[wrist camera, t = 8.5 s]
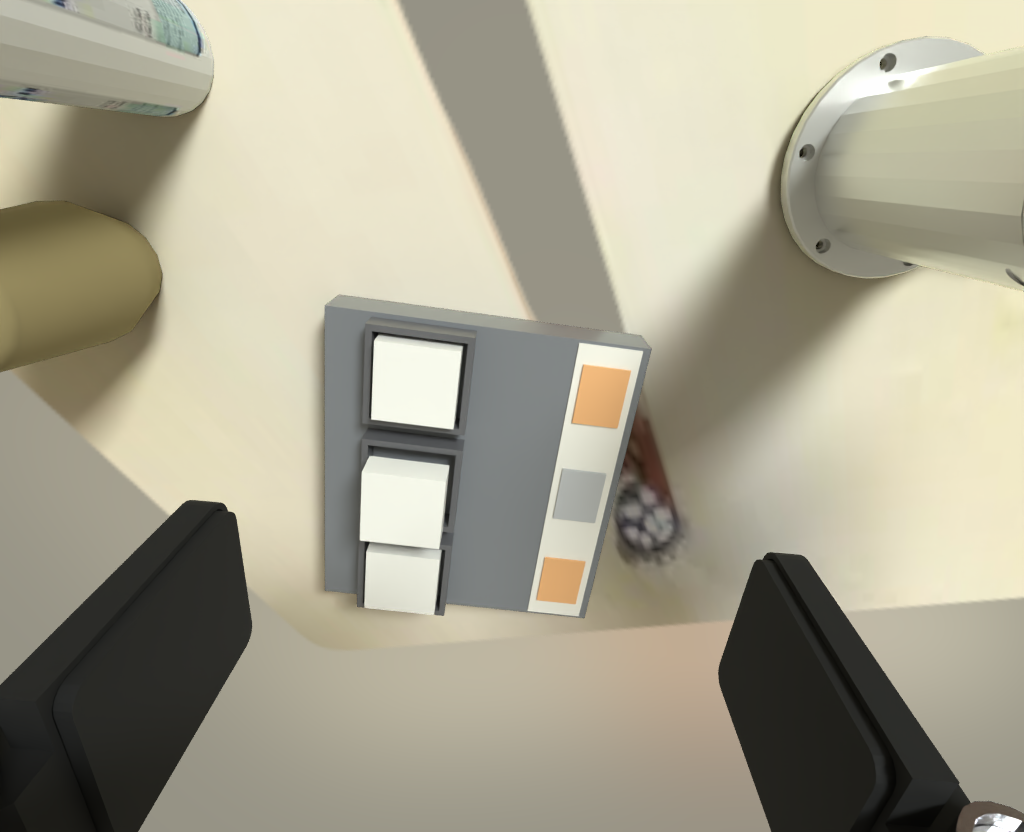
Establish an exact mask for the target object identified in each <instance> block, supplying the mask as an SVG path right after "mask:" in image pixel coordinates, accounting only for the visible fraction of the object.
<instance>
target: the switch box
mask: <svg viewBox="0 0 1024 832" xmlns="http://www.w3.org/2000/svg"><path fill="white" fill-rule="evenodd" d="M380 332H383V333H390V334H398V335H405V336H413V337H420V338H428V339H436V340H443V341H451V342H458V343H464V348H463V357H462V367H461V376H460V386H459V395H458V405H457V414H456V420H455V424H454V429H445V428H437V427H429V426H421V425H413V424H405V423H397V422H388V421H380V420H372V419H371V411H372V384H373V357H374V340H375V339H376V337H377V336H378V335H379V334H380ZM650 353H651V348H650V346H649V345H648V344H647V342H646V341H645V340H644V338H643V337H642V336H641V335H634V334H626V333H619V332H611V331H604V330H597V329H589V328H581V327H575V326H567V325H560V324H552V323H545V322H538V321H530V320H523V319H515V318H508V317H501V316H493V315H486V314H478V313H471V312H464V311H456V310H449V309H441V308H434V307H427V306H419V305H412V304H404V303H397V302H390V301H382V300H375V299H368V298H360V297H353V296H345V295H338V296H337V297H335V298H334V299H333V300H331V301H330V302H329V303H327V304H326V305H325V591H334V592H343V593H353V594H357V607H364V602H365V575H366V551H367V549H368V546H369V543H370V542H369V541H360V515H361V482H362V470H363V468H364V466H365V464H366V462H367V460H368V458H369V456H376V457H384V458H392V459H401V460H409V461H417V462H426V463H434V464H443V465H450V466H449V475H448V485H447V494H446V504H445V514H444V523H443V532H442V537H441V542H440V547H439V549H442V556H441V566H440V575H439V585H438V594H437V601H436V606H435V612H434V615H441V616H444V612H445V606H446V603H447V604H456V605H466V606H475V607H484V608H494V609H503V610H513V611H522V612H531V613H541V614H550V615H560V616H569V617H578V618H585V614H586V610H587V606H588V602H589V598H590V594H591V590H592V586H593V582H594V578H595V574H596V569H597V566H598V561H599V557H600V553H601V549H602V545H603V541H604V537H605V533H606V529H607V525H608V521H609V517H610V513H611V509H612V505H613V501H614V497H615V493H616V489H617V485H618V481H619V477H620V473H621V469H622V465H623V461H624V457H625V453H626V449H627V445H628V441H629V437H630V433H631V429H632V425H633V421H634V417H635V413H636V409H637V405H638V401H639V397H640V393H641V389H642V385H643V381H644V377H645V373H646V369H647V365H648V361H649V357H650Z"/></svg>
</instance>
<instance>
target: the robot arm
mask: <svg viewBox="0 0 1024 832" xmlns="http://www.w3.org/2000/svg"><path fill="white" fill-rule="evenodd" d="M880 61H881V62H882V67H881V69H880V67H879V66H880ZM801 148H802V149H803V151H804V153H803V155H802V157H799V151H800V150H801ZM781 203H782V209H783V214H784V219H785V222H786V224H787V226H788V229H789V231H790V233H791V236H792V238H793V239H794V240H795V242H796V243H797V244H798V246H799V247H800V249H801V250H802V251H803V252H804V253H805V254H806V255H807V256H809V257H810V258H811V259H812V260H813V261H814V262H816V263H817V264H819V265H821V266H823V267H825V268H827V269H829V270H831V271H834V272H837V273H840V274H843V275H846V276H852V277H859V278H883V277H889V276H893V275H897V274H902V273H906V272H908V271H910V270H913V269H915V268H918V267H920V266H924V267H928V268H932V269H936V270H940V271H944V272H948V273H952V274H956V275H960V276H964V277H968V278H972V279H976V280H980V281H984V282H988V283H992V284H996V285H999V286H1003V287H1007V288H1011V289H1015V290H1019V291H1023V292H1024V46H1020V47H1016V48H1012V49H1007V50H1003V51H999V52H995V53H990V54H985V53H983V52H982V51H980V50H979V49H977V48H975V47H974V46H972V45H971V44H969V43H966V42H962V41H959V40H956V39H952V38H949V37H930V36H925V37H919V38H913V39H908V40H902V41H899V42H896V43H893V44H890V45H887V46H884V47H881V48H879V49H877V50H875V51H873V52H871V53H869V54H867V55H865V56H863V57H860V58H859V59H857V60H856V61H855V62H853V63H852V64H850V65H849V66H848V67H846V68H845V69H843V70H842V71H841V72H839V73H838V74H837V75H836V76H835V77H834V78H833V79H832V80H831V81H830V82H829V83H828V84H827V85H826V86H825V87H824V88H823V89H822V90H821V91H820V92H819V93H818V95H817V96H816V97H815V99H814V100H813V101H812V103H811V104H810V105H809V107H808V108H807V109H806V111H805V112H804V114H803V116H802V118H801V119H800V121H799V123H798V125H797V127H796V129H795V131H794V132H793V135H792V137H791V140H790V143H789V146H788V149H787V152H786V155H785V158H784V164H783V169H782V175H781ZM818 241H819V242H820V243H819V246H818V247H817V248H816V244H817V243H818ZM249 607H250V606H249V600H248V593H247V586H246V580H245V573H244V566H243V559H242V553H241V546H240V539H239V533H238V526H237V519H236V516H235V514H234V513H233V512H228V510H227V507H226V506H225V504H223V503H219V502H208V501H196V500H189V501H186V502H185V503H183V504H182V505H181V506H180V507H179V508H178V509H177V510H176V511H175V512H174V513H173V514H172V515H171V516H170V517H169V518H168V519H167V520H166V521H165V522H164V523H163V524H162V525H161V526H160V527H159V528H158V529H157V530H156V531H155V532H154V533H153V534H152V535H151V536H150V537H149V538H148V539H147V540H146V541H145V542H144V543H143V544H142V545H141V546H140V547H139V548H138V549H137V550H136V551H135V552H134V553H133V554H132V555H131V556H130V557H129V558H128V559H127V560H126V561H125V562H124V563H123V564H122V565H121V566H120V567H119V568H118V569H117V570H116V571H115V572H114V573H113V574H112V575H111V576H110V577H109V578H108V579H107V580H106V581H105V582H104V583H103V584H102V585H101V586H100V587H99V588H98V589H97V590H95V592H93V593H92V594H91V596H89V597H88V599H86V600H85V601H84V602H83V604H81V605H80V607H79V608H77V609H76V610H75V611H74V612H73V613H72V614H71V615H70V616H69V618H67V619H66V620H65V621H64V622H63V623H62V624H61V625H60V626H59V627H58V628H57V629H56V630H55V631H54V632H53V633H52V634H51V635H50V636H49V637H48V638H47V639H46V640H45V641H44V642H43V643H42V644H41V645H40V646H39V647H38V648H37V649H36V650H35V651H34V652H33V653H32V654H31V655H30V656H29V657H28V658H27V659H26V660H25V661H24V662H23V663H22V664H21V665H20V666H19V667H18V668H17V669H16V670H15V671H14V672H13V673H12V674H11V675H10V676H9V677H8V678H7V679H6V680H5V681H4V682H3V683H2V684H1V685H0V832H138V831H139V829H140V827H141V825H142V824H143V822H144V821H145V818H146V817H147V815H148V814H149V812H150V810H151V809H152V807H153V805H154V803H155V802H156V800H157V798H158V796H159V795H160V793H161V791H162V790H163V788H164V786H165V785H166V783H167V781H168V779H169V777H170V776H171V774H172V773H173V771H174V769H175V767H176V766H177V764H178V762H179V761H180V759H181V757H182V756H183V754H184V752H185V750H186V749H187V747H188V745H189V743H190V742H191V740H192V738H193V737H194V735H195V733H196V732H197V730H198V728H199V726H200V725H201V723H202V721H203V720H204V718H205V716H206V714H207V713H208V711H209V709H210V707H211V706H212V704H213V702H214V701H215V699H216V697H217V696H218V694H219V692H220V690H221V689H222V687H223V685H224V684H225V682H226V680H227V678H228V677H229V675H230V673H231V672H232V670H233V668H234V667H235V665H236V663H237V661H238V660H239V658H240V656H241V655H242V653H243V651H244V649H245V648H246V646H247V644H248V642H249V639H250V636H251V631H252V620H251V613H250V608H249ZM718 675H719V684H720V687H721V691H722V693H723V696H724V699H725V702H726V704H727V707H728V710H729V713H730V716H731V718H732V722H733V724H734V727H735V730H736V733H737V736H738V738H739V741H740V744H741V747H742V750H743V753H744V756H745V758H746V761H747V764H748V767H749V769H750V772H751V775H752V778H753V781H754V783H755V786H756V789H757V792H758V795H759V798H760V801H761V803H762V806H763V809H764V812H765V814H766V817H767V820H768V823H769V826H770V829H771V832H1024V813H1022V812H1020V811H1018V810H1016V809H1014V808H1011V807H1009V806H1005V805H1002V804H999V803H995V802H992V801H974V802H972V803H970V801H969V799H968V798H967V796H966V795H965V794H964V792H963V791H962V789H961V788H960V786H959V781H958V780H957V779H956V777H955V775H954V774H953V772H952V771H951V770H950V768H949V767H948V765H947V764H946V762H945V761H944V759H943V758H942V756H941V755H940V753H939V752H938V750H937V749H936V748H935V746H934V745H933V743H932V742H931V740H930V739H929V737H928V736H927V734H926V733H925V731H924V730H923V728H922V727H921V726H920V724H919V723H918V721H917V720H916V718H915V717H914V716H913V714H912V712H911V711H910V709H909V708H908V707H907V705H906V704H905V702H904V701H903V699H902V698H901V696H900V695H899V693H898V692H897V690H896V689H895V687H894V686H893V685H892V683H891V682H890V680H889V679H888V677H887V676H886V674H885V673H884V671H883V670H882V668H881V667H880V666H879V664H878V663H877V661H876V660H875V658H874V657H873V655H872V654H871V652H870V651H869V649H868V648H867V647H866V645H865V644H864V642H863V641H862V639H861V638H860V636H859V635H858V633H857V632H856V630H855V629H854V627H853V626H852V624H851V623H850V622H849V620H848V619H847V617H846V616H845V614H844V613H843V611H842V610H841V608H840V607H839V605H838V604H837V602H836V601H835V599H834V598H833V597H832V595H831V594H830V592H829V591H828V589H827V588H826V586H825V585H824V583H823V582H822V580H821V579H820V577H819V576H818V575H817V573H816V572H815V570H814V569H813V567H812V566H811V564H810V563H809V561H808V560H807V559H806V558H805V557H804V556H802V555H795V554H784V553H773V552H770V553H767V554H766V555H765V556H764V558H763V560H756V561H755V562H754V564H753V567H752V570H751V573H750V576H749V579H748V582H747V585H746V588H745V591H744V593H743V596H742V599H741V602H740V605H739V608H738V611H737V614H736V617H735V620H734V623H733V626H732V629H731V632H730V635H729V638H728V641H727V644H726V647H725V650H724V653H723V656H722V659H721V662H720V665H719V672H718Z"/></svg>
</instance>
